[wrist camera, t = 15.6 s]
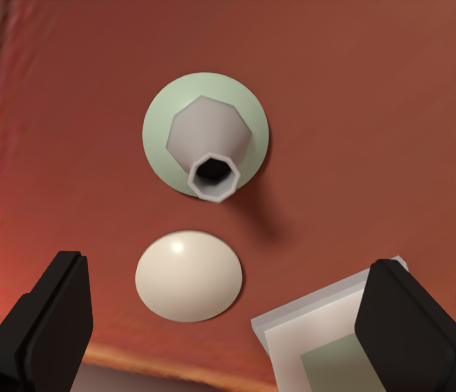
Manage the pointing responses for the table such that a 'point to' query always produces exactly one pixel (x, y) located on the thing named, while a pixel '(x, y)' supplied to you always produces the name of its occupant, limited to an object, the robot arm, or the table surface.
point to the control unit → (319, 340)
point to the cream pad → (188, 276)
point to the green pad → (181, 97)
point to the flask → (209, 146)
